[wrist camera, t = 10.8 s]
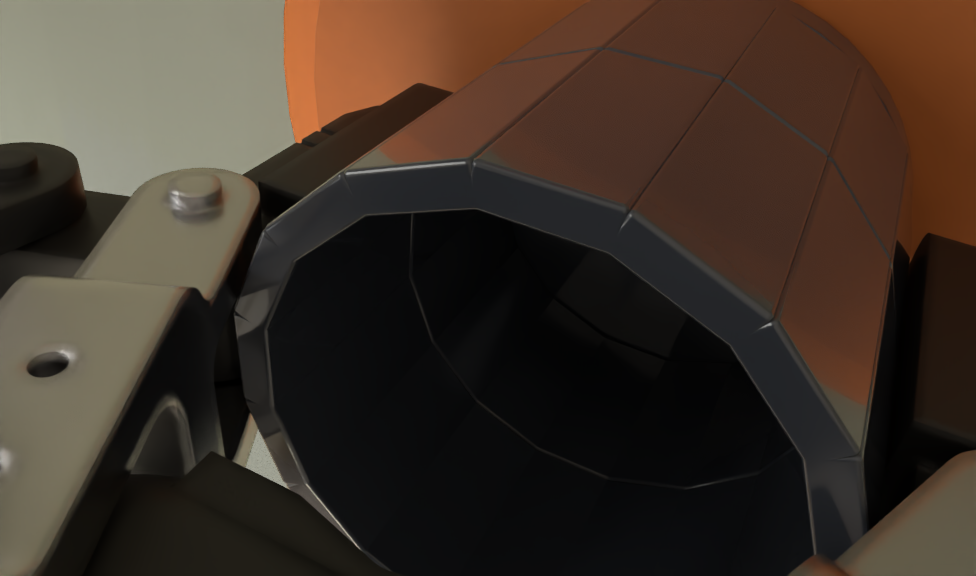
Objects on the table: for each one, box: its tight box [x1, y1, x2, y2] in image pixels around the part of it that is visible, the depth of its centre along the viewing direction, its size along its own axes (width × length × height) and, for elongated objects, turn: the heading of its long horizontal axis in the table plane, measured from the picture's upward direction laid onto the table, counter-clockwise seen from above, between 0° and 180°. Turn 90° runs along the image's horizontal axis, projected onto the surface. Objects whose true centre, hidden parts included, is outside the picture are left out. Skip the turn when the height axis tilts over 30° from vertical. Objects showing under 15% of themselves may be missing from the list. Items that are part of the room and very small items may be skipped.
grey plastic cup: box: [233, 0, 914, 576], centre depth 9 cm, size 6×6×6 cm
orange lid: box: [284, 0, 976, 264], centre depth 12 cm, size 14×14×2 cm
